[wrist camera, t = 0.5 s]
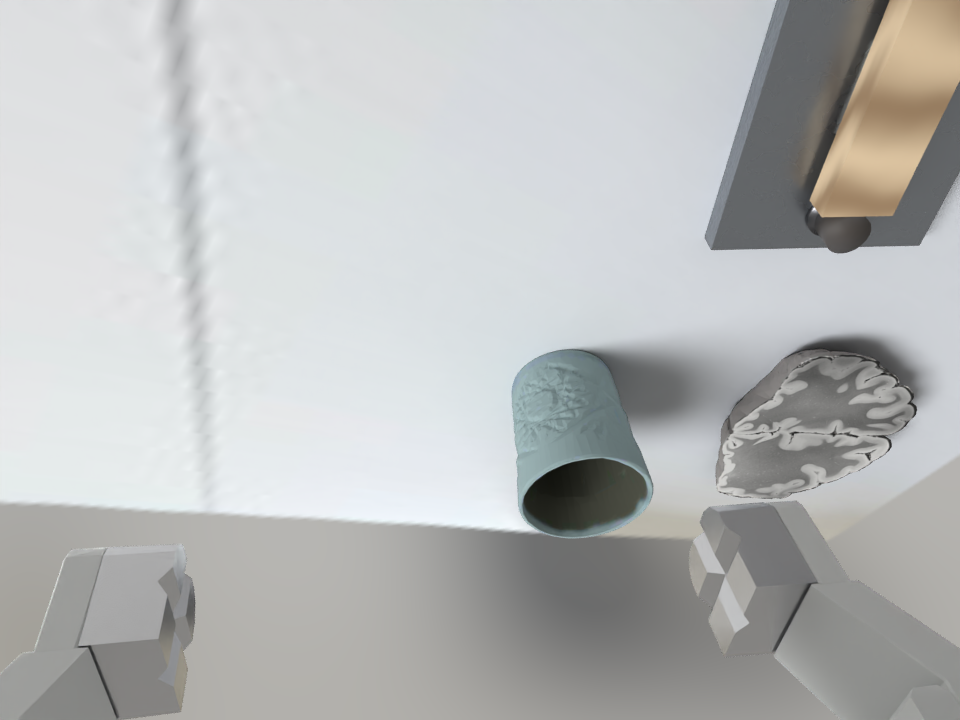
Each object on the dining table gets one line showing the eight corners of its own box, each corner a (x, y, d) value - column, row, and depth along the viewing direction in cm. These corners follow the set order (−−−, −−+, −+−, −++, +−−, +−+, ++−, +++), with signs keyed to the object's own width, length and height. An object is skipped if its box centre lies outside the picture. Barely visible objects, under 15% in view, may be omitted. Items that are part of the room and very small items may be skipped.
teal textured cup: (603, 423, 71) (636, 537, 62) (493, 425, 70) (511, 542, 61) (628, 341, 64) (669, 456, 55) (506, 341, 62) (528, 460, 54)
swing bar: (861, 235, 56) (874, 252, 54) (794, 236, 55) (806, 254, 54) (980, -16, 44) (1000, -2, 43) (896, -17, 43) (914, -4, 42)
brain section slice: (836, 475, 81) (849, 499, 79) (683, 473, 78) (692, 497, 76) (943, 336, 68) (962, 360, 66) (764, 326, 65) (777, 351, 63)
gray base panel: (850, -243, 38) (868, -237, 36) (1150, -228, 40) (1177, -221, 38) (704, 237, 57) (712, 253, 56) (909, 233, 59) (922, 248, 58)
